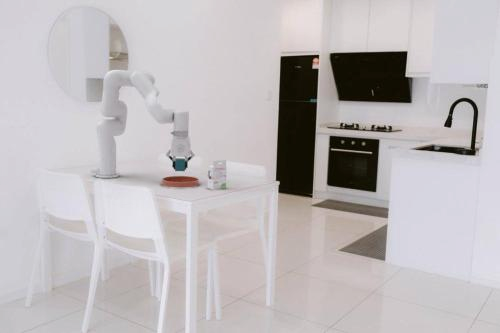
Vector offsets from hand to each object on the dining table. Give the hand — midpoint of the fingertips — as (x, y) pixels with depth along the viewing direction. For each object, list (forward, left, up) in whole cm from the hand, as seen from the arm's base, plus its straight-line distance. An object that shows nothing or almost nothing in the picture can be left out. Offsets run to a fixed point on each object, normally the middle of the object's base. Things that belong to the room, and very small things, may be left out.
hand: (179, 168), depth 245 cm
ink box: (+18, -10, -9) cm, 23 cm away
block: (0, 0, -1) cm, 1 cm away
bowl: (0, 0, -8) cm, 8 cm away
